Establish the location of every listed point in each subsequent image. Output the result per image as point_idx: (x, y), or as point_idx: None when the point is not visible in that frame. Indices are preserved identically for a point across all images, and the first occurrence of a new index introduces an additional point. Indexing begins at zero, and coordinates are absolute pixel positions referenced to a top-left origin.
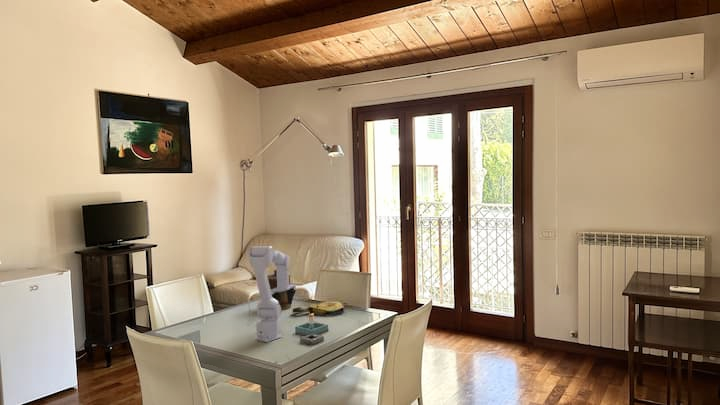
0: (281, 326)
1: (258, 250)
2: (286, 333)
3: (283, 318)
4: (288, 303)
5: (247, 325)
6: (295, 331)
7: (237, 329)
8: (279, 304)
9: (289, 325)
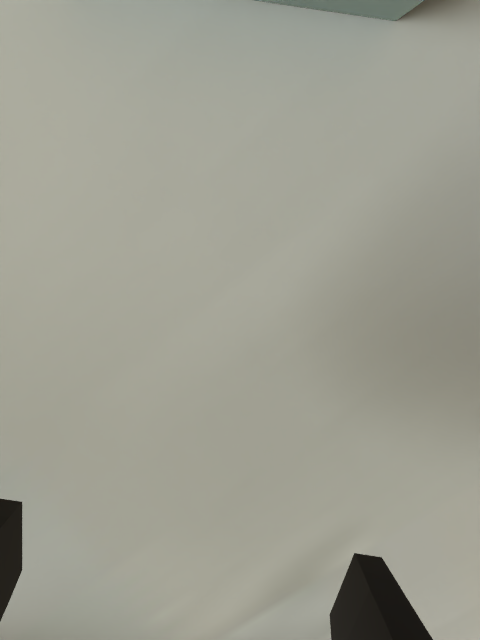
0: (236, 374)
1: None
2: (451, 136)
3: None
4: (17, 569)
5: None
6: (401, 14)
7: (470, 627)
8: (392, 614)
9: (163, 320)
